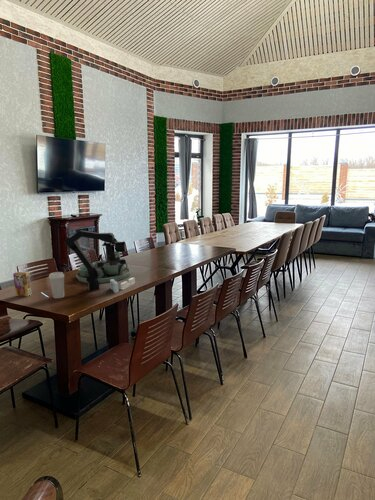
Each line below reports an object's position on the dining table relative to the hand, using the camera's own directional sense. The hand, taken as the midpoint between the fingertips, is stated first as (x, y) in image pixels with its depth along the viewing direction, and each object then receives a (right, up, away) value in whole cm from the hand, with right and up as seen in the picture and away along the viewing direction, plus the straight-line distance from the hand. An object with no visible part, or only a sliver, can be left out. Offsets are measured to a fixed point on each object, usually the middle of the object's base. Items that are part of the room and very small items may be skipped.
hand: (111, 275), depth 242 cm
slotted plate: (+2, -10, -2) cm, 10 cm away
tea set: (-13, -4, +36) cm, 39 cm away
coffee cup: (-31, -13, -12) cm, 36 cm away
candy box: (-55, -13, -6) cm, 57 cm away
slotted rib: (+10, -8, +6) cm, 14 cm away
